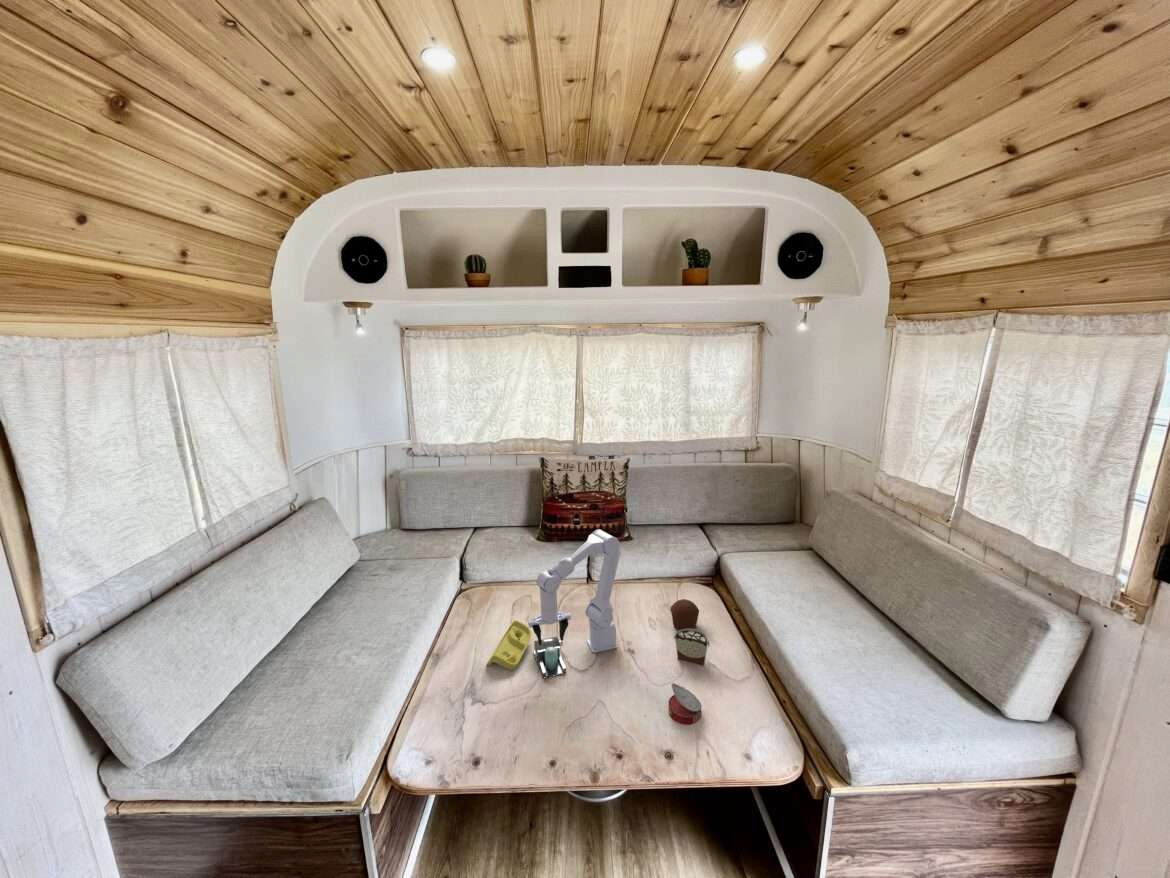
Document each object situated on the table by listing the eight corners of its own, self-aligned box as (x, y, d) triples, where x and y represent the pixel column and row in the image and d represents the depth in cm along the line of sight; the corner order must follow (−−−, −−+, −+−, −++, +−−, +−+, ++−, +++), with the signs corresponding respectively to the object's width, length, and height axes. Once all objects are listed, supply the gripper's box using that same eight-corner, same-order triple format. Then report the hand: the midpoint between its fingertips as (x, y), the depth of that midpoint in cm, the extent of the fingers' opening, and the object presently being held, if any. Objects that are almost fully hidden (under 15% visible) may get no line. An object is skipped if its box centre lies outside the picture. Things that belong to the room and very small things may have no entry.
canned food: (676, 713, 154) (681, 680, 157) (705, 725, 148) (709, 690, 150) (658, 717, 146) (663, 682, 149) (688, 730, 140) (693, 693, 142)
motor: (560, 646, 182) (559, 631, 181) (571, 672, 168) (570, 656, 167) (533, 651, 179) (532, 637, 178) (541, 678, 165) (541, 663, 164)
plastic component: (516, 666, 168) (491, 653, 169) (509, 681, 171) (484, 667, 172) (535, 630, 187) (512, 617, 188) (528, 643, 189) (506, 631, 190)
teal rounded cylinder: (557, 661, 173) (556, 644, 172) (558, 669, 169) (557, 652, 167) (545, 662, 173) (544, 645, 171) (545, 670, 168) (544, 653, 167)
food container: (711, 657, 174) (712, 632, 172) (708, 667, 168) (709, 642, 166) (677, 648, 179) (678, 624, 177) (673, 658, 173) (673, 633, 171)
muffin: (697, 636, 186) (697, 612, 184) (668, 631, 190) (668, 608, 188) (700, 619, 197) (700, 596, 195) (672, 615, 201) (673, 593, 199)
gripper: (566, 596, 172) (567, 630, 175) (526, 603, 168) (528, 638, 171) (571, 606, 166) (573, 641, 168) (529, 614, 162) (531, 650, 164)
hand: (550, 641), depth 169 cm, fingers open, 7 cm apart
